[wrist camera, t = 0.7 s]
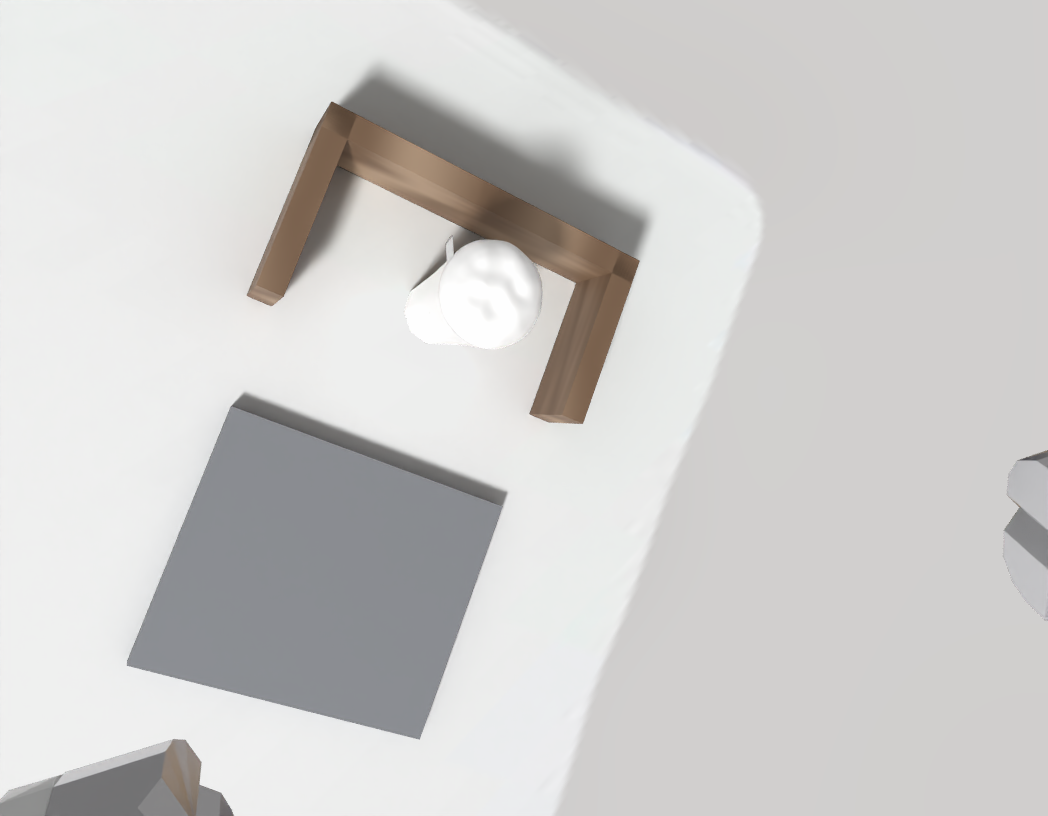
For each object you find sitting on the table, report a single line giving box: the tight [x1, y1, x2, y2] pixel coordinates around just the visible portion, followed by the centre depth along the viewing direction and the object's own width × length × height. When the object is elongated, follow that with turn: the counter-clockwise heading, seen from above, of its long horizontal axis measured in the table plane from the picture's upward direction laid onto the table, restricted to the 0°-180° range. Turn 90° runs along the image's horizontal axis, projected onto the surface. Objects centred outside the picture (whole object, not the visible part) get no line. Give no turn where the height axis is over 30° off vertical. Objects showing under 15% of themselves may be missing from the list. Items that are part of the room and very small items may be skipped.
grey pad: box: [127, 406, 503, 739], centre depth 42 cm, size 14×12×1 cm
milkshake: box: [404, 235, 542, 349], centre depth 40 cm, size 5×5×10 cm
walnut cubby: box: [247, 102, 639, 424], centre depth 43 cm, size 16×9×4 cm, turn 68°
